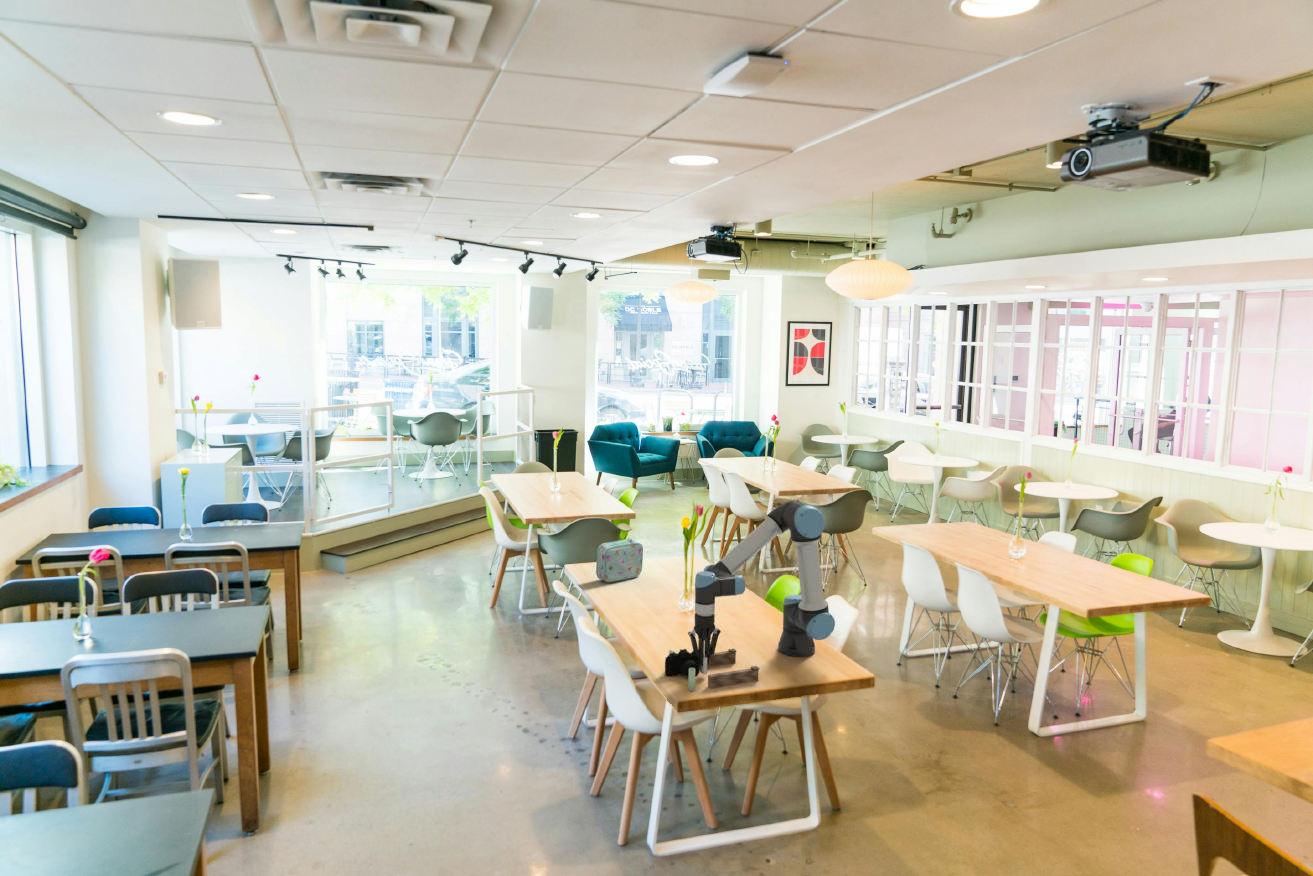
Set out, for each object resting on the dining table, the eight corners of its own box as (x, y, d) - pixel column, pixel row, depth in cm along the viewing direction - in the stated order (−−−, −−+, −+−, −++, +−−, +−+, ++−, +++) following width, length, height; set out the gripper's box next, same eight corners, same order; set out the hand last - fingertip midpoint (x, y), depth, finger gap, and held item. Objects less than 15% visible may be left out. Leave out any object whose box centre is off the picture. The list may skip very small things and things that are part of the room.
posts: (673, 669, 321) (673, 649, 320) (696, 690, 301) (696, 669, 300) (667, 670, 320) (668, 650, 319) (690, 691, 300) (690, 670, 300)
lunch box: (633, 572, 457) (633, 534, 455) (645, 576, 449) (645, 538, 447) (594, 581, 440) (594, 541, 438) (605, 585, 432) (605, 545, 430)
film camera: (673, 683, 308) (673, 659, 307) (662, 673, 317) (662, 651, 316) (709, 676, 314) (709, 654, 313) (697, 667, 323) (697, 645, 322)
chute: (733, 660, 331) (733, 648, 330) (759, 680, 311) (759, 668, 310) (687, 667, 323) (687, 654, 323) (710, 688, 303) (710, 675, 303)
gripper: (715, 608, 317) (714, 667, 320) (685, 611, 312) (684, 672, 315) (724, 614, 310) (723, 674, 313) (693, 618, 305) (692, 679, 308)
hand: (703, 673), depth 314 cm, fingers closed
